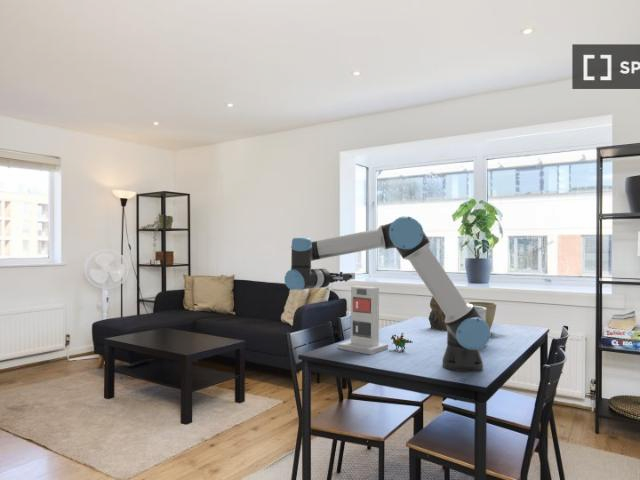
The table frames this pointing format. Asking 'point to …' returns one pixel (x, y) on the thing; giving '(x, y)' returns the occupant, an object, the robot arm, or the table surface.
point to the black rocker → (362, 329)
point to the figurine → (400, 341)
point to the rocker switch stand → (365, 322)
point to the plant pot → (487, 310)
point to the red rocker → (361, 304)
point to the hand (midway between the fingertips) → (353, 275)
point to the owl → (437, 316)
